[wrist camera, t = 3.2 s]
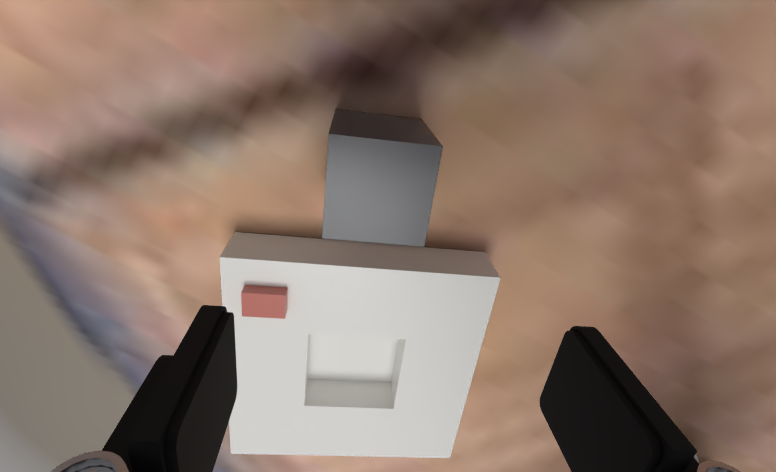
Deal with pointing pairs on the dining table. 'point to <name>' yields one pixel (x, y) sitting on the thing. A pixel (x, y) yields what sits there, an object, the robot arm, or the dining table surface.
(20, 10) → the dining table surface
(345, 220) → the plug
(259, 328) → the socket
